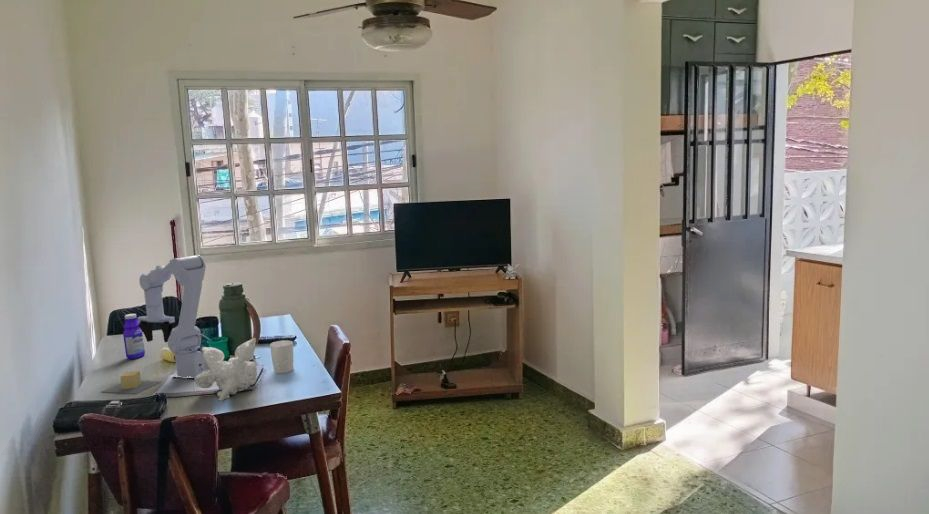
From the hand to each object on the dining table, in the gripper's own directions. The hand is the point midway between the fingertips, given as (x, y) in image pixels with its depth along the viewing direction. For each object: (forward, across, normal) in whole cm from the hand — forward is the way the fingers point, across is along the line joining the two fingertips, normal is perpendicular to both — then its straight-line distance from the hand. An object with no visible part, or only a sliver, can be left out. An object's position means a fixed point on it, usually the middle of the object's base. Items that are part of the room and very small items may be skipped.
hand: (158, 341), depth 243 cm
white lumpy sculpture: (+11, -42, +19) cm, 47 cm away
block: (+10, -4, +20) cm, 23 cm away
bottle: (+11, +22, -12) cm, 27 cm away
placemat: (+10, -4, +20) cm, 23 cm away
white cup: (+11, -49, -3) cm, 50 cm away
